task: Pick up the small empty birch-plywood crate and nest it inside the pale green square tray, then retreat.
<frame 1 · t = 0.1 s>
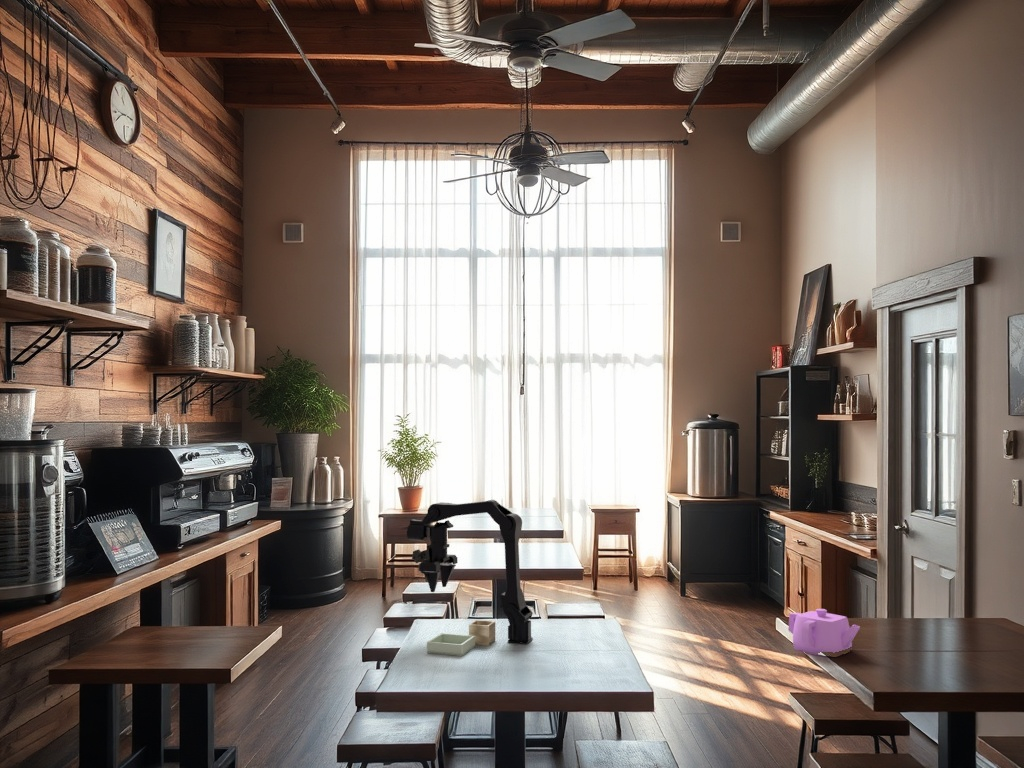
hand: (438, 589, 268), 15 cm above the table, fingers open, 9 cm apart
small crate: (482, 642, 257), on the table
pale green square tray: (451, 649, 248), on the table
teakettle: (824, 651, 246), on the table
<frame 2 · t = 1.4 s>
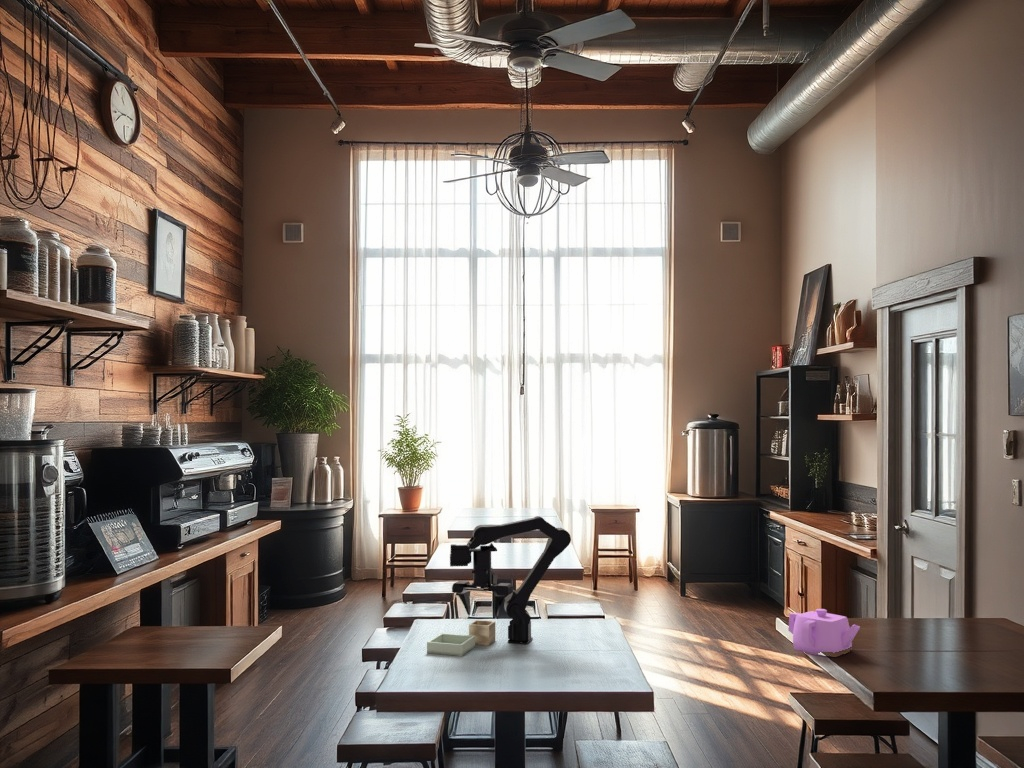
hand: (482, 615, 258), 8 cm above the table, fingers open, 9 cm apart
nothing on the table moved.
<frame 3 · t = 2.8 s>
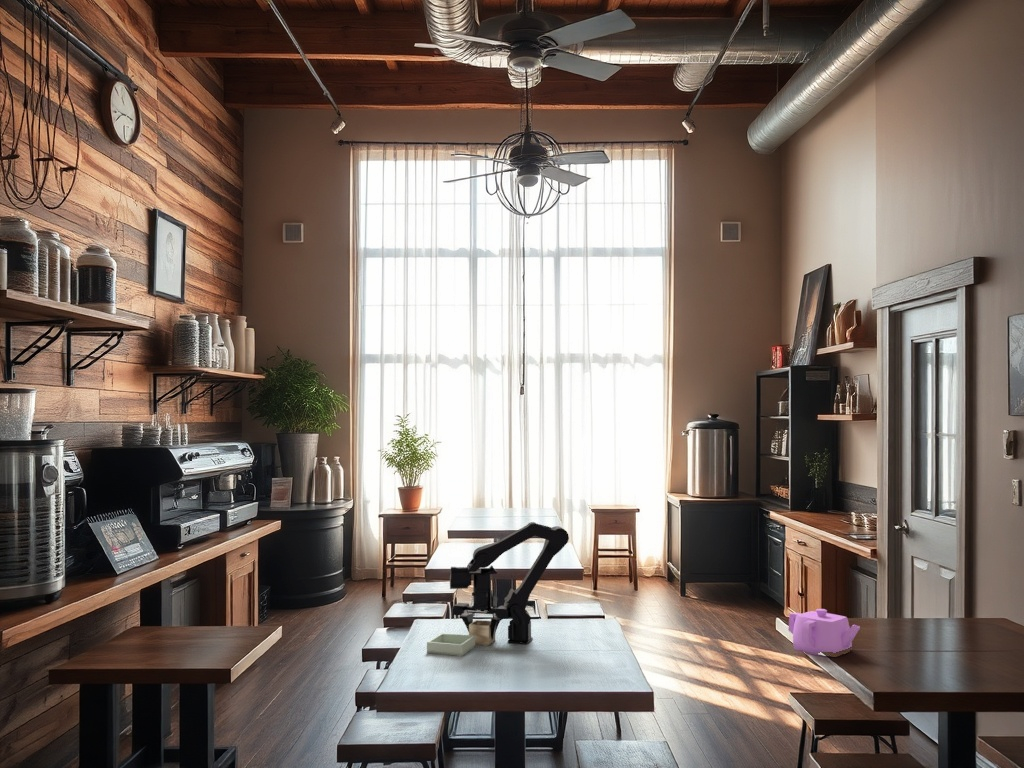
hand: (482, 638, 257), 1 cm above the table, fingers closed on small crate, 6 cm apart
small crate: (482, 642, 257), on the table, touching gripper
everything else where it was.
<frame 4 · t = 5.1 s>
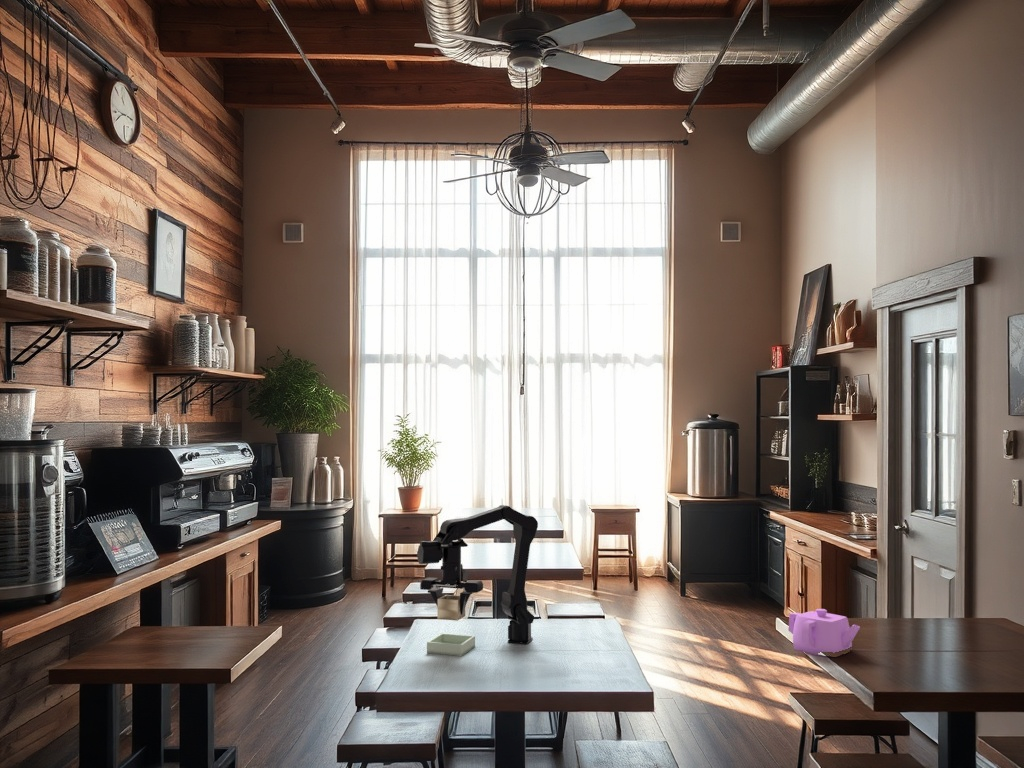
hand: (451, 613, 249), 11 cm above the table, fingers closed on small crate, 6 cm apart
small crate: (451, 617, 249), point 10 cm above the table, touching gripper
everything else where it was.
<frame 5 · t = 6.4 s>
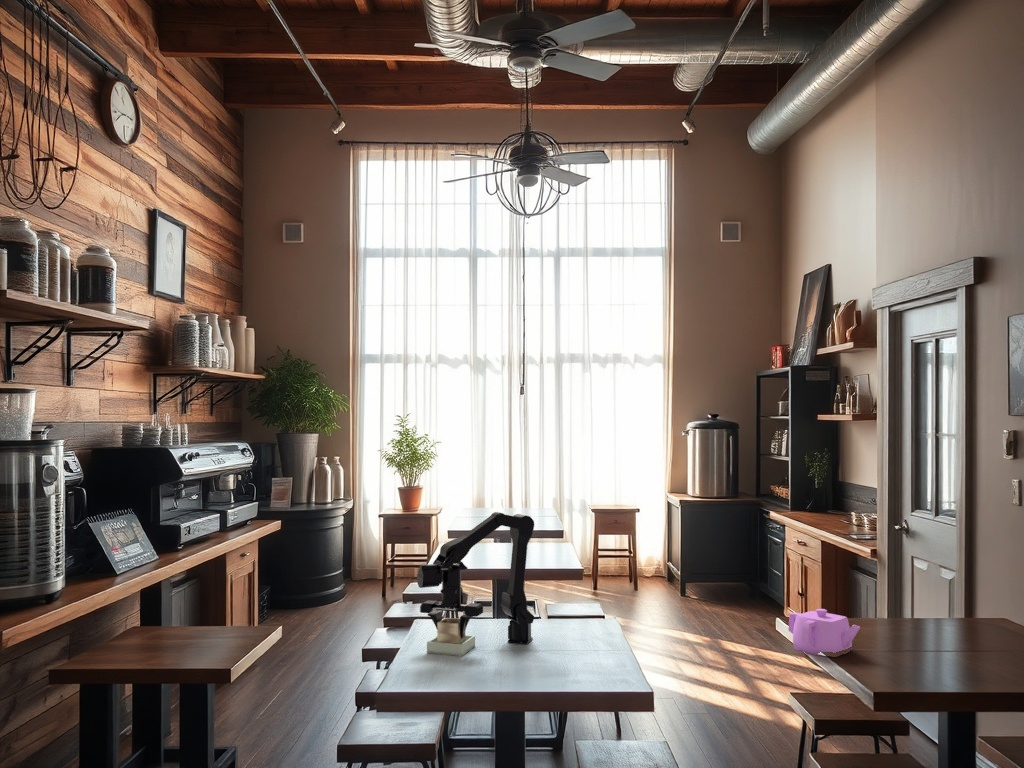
hand: (451, 636, 249), 4 cm above the table, fingers closed on small crate, 6 cm apart
small crate: (451, 640, 249), point 3 cm above the table, touching gripper
everything else where it was.
when the fingers open (4 cm above the table, at t = 7.2 s): small crate drops 2 cm, resting on pale green square tray.
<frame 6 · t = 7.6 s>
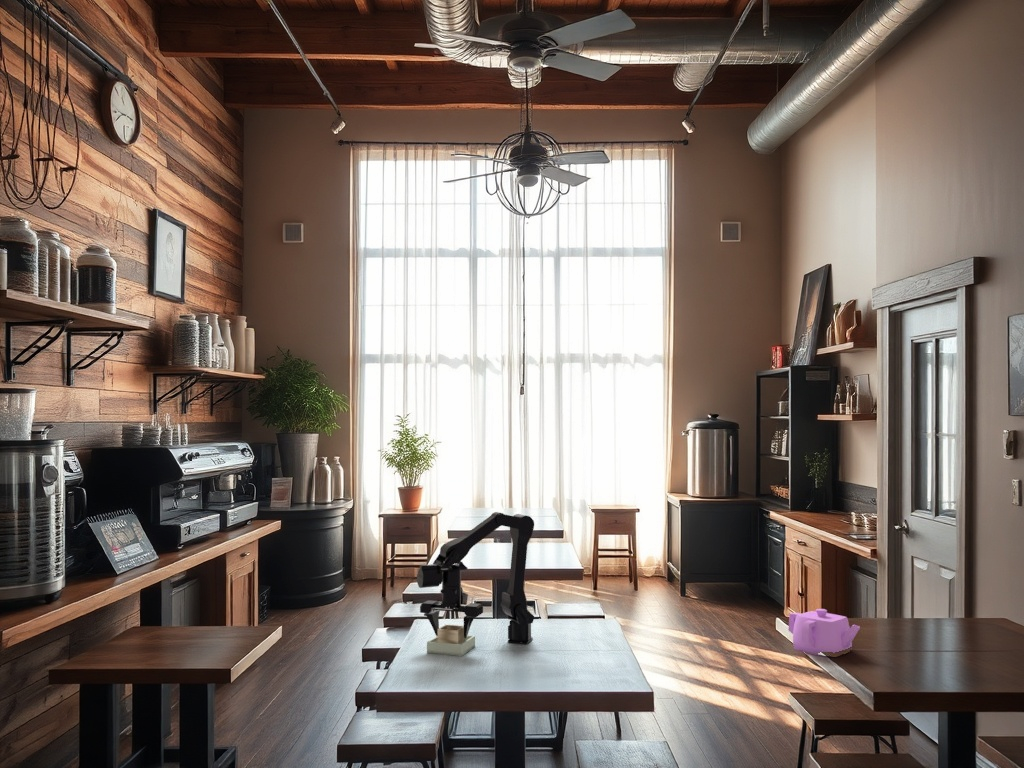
hand: (451, 636, 249), 4 cm above the table, fingers open, 9 cm apart
small crate: (451, 647, 249), point 1 cm above the table, touching pale green square tray
everything else where it was.
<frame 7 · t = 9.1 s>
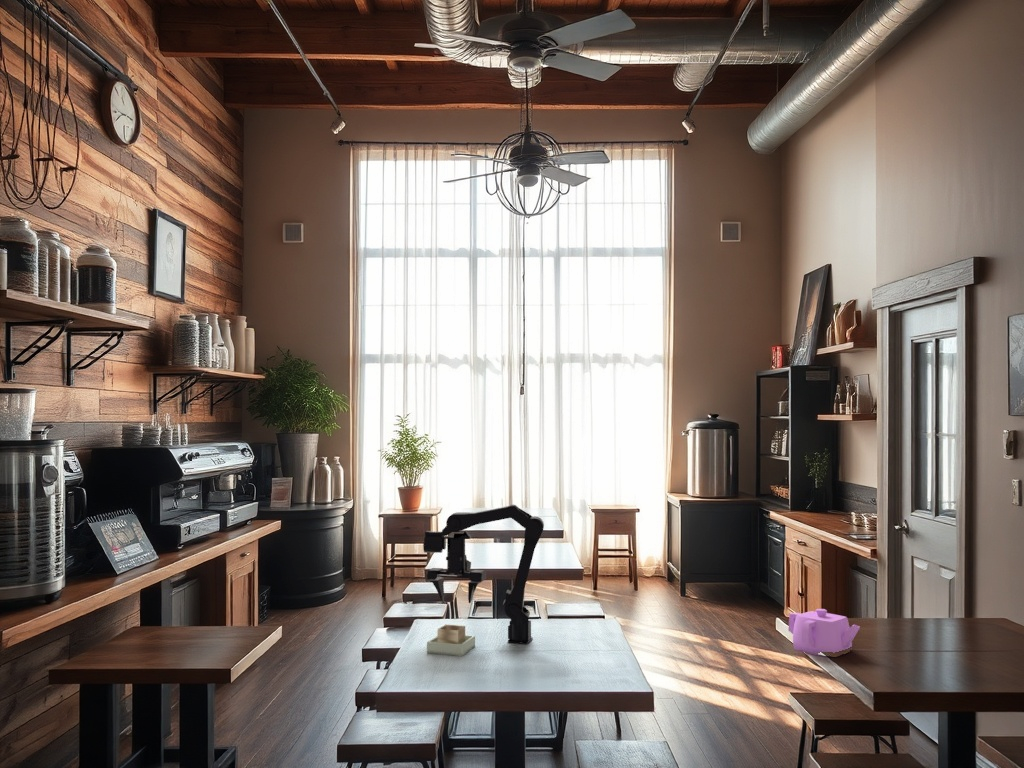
hand: (456, 602, 260), 12 cm above the table, fingers open, 9 cm apart
nothing on the table moved.
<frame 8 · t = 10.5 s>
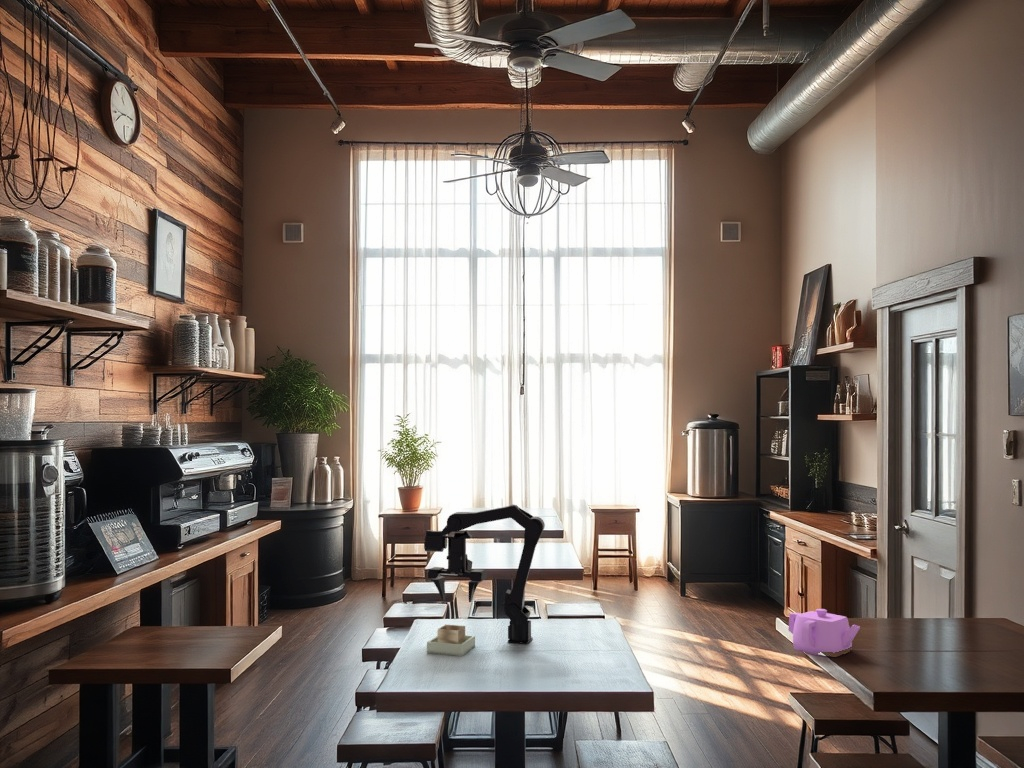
hand: (456, 601, 261), 12 cm above the table, fingers open, 9 cm apart
nothing on the table moved.
at the end: small crate 0.0 cm off-centre on the pale green square tray, point 0.6 cm above the pale green square tray's base; small crate tilted 0°; the gripper is holding nothing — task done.
